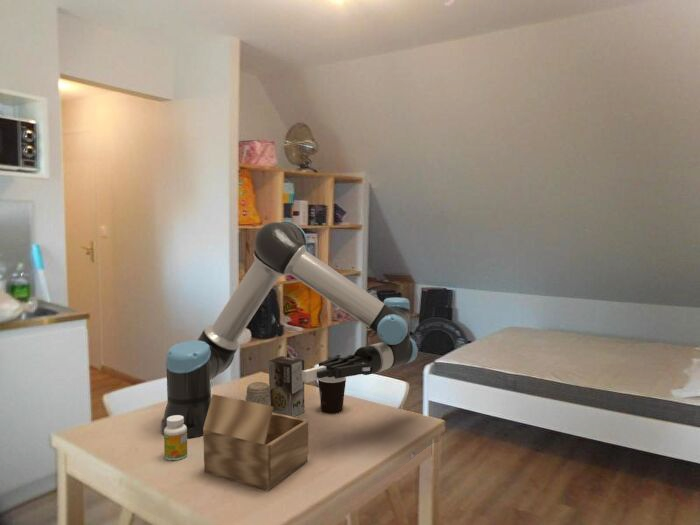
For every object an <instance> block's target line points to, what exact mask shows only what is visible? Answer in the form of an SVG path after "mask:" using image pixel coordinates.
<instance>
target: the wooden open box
mask: <svg viewBox="0 0 700 525" xmlns="http://www.w3.org/2000/svg"><path fill="white" fill-rule="evenodd" d="M202 436H203V464H204V465H203V466H204V468H203V469H204V473H206V474H209V475H212V476H216V477H219V478H224V479H227V480H230V481H234V482H237V483H240V484H243V485H247V486H251V487H254V488H256V489H261V490H264V491H268V492H269V491H270V490H271V489H272V488H274V487H275V486H276V485H278V484H280V482H281V481H283V480H284V479H286V478H288V476H290V475H291V474H292V473H293V472H295V471H296V470H297V469H299V468H300V467H301V466H302V465H304V464H306V463H307V462H308V455H309V421H308V420H307V419H305V418H299V417H296V416H294V417H292V416H287V415H282V414H277V413H273V412H272V416H271V420H270V424H269V429H268V433H267V437H266V441H265V445H264V444H260V443H256V442H252V441H247V440H243V439H239V438H235V437H231V436H227V435H223V434H219V433H215V432H211V431H207V430H203V435H202Z"/></svg>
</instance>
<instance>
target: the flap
mask: <svg viewBox="0 0 700 525" xmlns="http://www.w3.org/2000/svg"><path fill="white" fill-rule="evenodd" d="M273 408H274V407H273V406H268V405H263V404H258V403H254V402H249V401H246V400H242V399H239V398H233V397H228V396H223V395H218V394H212V393H211V402H210V405H209V409H208V413H207V416H206V420H205V424H204V427H203V430H207V431H211V432H215V433H219V434H223V435H227V436H231V437H235V438H239V439H243V440H247V441H252V442H256V443H260V444H264V445H265V441H266V437H267V433H268V429H269V424H270V420H271V416H272V412H273Z"/></svg>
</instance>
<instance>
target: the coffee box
mask: <svg viewBox="0 0 700 525" xmlns="http://www.w3.org/2000/svg"><path fill="white" fill-rule="evenodd" d="M303 370H305V360H304V359H301V358H296V357H290V356H289V357H288V356H283V355H281V356H277V357H275V358H273V359H270V360H268V382H269V383H268V385H269V387H270V396H271V406H273V407H274V408H273V413H277V414H282V415H287V416H292V417H296V416H298V415H300V414H302V413H303V414H304V412H305V382H303V378H302V371H303Z"/></svg>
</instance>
